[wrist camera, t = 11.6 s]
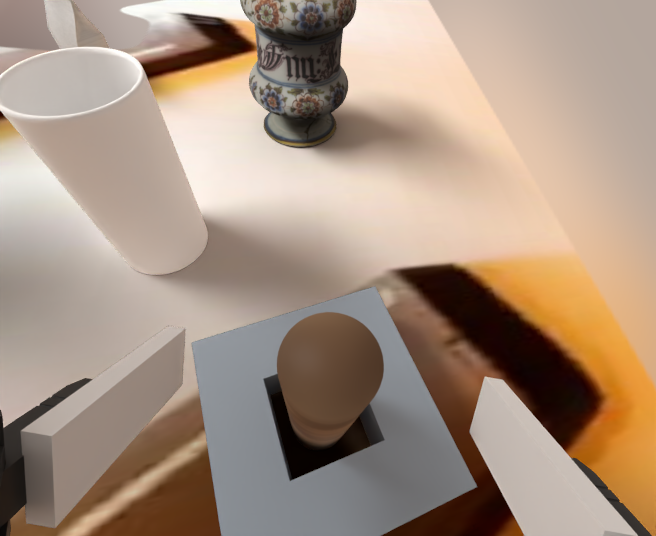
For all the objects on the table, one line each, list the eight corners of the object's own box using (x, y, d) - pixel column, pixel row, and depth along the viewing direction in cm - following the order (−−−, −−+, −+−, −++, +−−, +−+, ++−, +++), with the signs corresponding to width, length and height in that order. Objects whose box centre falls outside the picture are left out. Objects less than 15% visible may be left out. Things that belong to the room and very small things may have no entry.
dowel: (285, 404, 25) (264, 329, 13) (333, 386, 26) (358, 300, 14) (301, 460, 23) (295, 438, 11) (352, 438, 24) (402, 394, 12)
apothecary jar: (359, 120, 46) (384, -54, 31) (312, 165, 40) (315, -20, 25) (290, 91, 49) (282, -80, 34) (237, 130, 43) (200, -55, 28)
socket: (209, 364, 27) (191, 342, 22) (365, 313, 30) (375, 286, 26) (248, 582, 20) (233, 610, 15) (445, 485, 23) (477, 486, 19)
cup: (218, 256, 32) (156, 99, 19) (130, 287, 30) (-12, 132, 17) (196, 201, 36) (131, 38, 23) (116, 225, 34) (-9, 58, 20)
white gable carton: (101, 90, 47) (56, 5, 38) (74, 73, 49) (26, -11, 40) (124, 80, 49) (85, -3, 40) (96, 64, 51) (55, -18, 42)
